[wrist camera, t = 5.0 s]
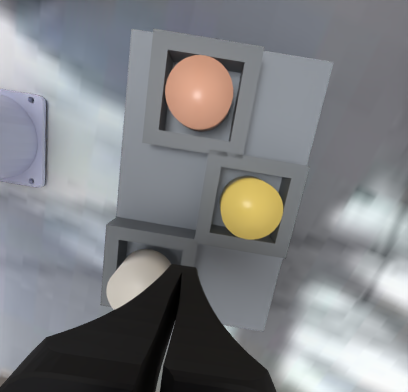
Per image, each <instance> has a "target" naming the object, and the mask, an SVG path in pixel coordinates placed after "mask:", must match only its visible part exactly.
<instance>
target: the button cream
mask: <svg viewBox="0 0 408 392" xmlns="http://www.w3.org/2000/svg"><path fill="white" fill-rule="evenodd" d="M170 265H171V263H170V261H169V260H168V259H167V258H166V257H165V256H164V255H163V254H161V253H160V252H158V251H155V250H151V249H140V250H137V251H134V252H133V253H131V254H130V255H129V256H128V257H127V258H126V259H125V260H124V261H123V263H122V264H121V265H120V266H119V268H118V269H117V270H116V271H115V273H114V274H113V275H112V276H111V278H110V279H109V281H108V284H107V289H106V293H107V298H108V301H109V303H110V305H111V307H112V308H113V309H114V310H115V309H117V308H119V307H121V306H122V305H124V304H126V303H127V302H129V301H130V300H132V299H133V298H135V297H136V296H137V295H139V294H140V293H141V292H143V291H144V290H145V289H146V288H147V287H149V286H150V285H151V284H152V283H153V282H154V281H155V280H156V279H158V278H159V277H160V276H161V275H162V274H163V273H164V272H165V271H166V269H167V268H168V267H169V266H170Z"/></svg>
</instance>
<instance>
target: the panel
mask: <svg viewBox="0 0 408 392" xmlns="http://www.w3.org/2000/svg"><path fill="white" fill-rule="evenodd" d="M194 55H205V56H209V57H212V58H214V59H216V60H217V61H219V62H220V63H221V64H222V65H223V66H224V67H225V68H226V70H227V71H228V73H229V75H230V77H231V80H232V84H233V99H232V103H231V106H230V108H229V111H228V113H227V115H226V117H225V119H224V120H223V122H222V123H221V124H220V125H218V126H217V127H216V128H214V129H212V130H209V131H205V132H198V131H193V130H191V129H189V128H187V127H185V126H184V125H183V124H182V123H180V122H179V121H178V120H177V119H176V118H175V117H174V116H173V114H172V113H171V111H170V109H169V107H168V105H167V102H166V96H165V87H166V82H167V79H168V76H169V74H170V72H171V71H172V69H173V68H174V67H175V66H176V65H177V64H178V63H179V62H180V61H182V60H183V59H185V58H187V57H190V56H194ZM333 63H334V62H330V61H324V60H317V59H311V58H305V57H299V56H293V55H287V54H281V53H275V52H269V51H264V47H263V46H257V45H250V44H244V43H238V42H232V41H226V40H220V39H214V38H208V37H202V36H196V35H190V34H184V33H178V32H172V31H165V30H159V29H153V32H148V31H141V30H135V29H132V30H131V42H130V54H129V66H128V79H127V91H126V103H125V115H124V127H123V140H122V152H121V164H120V176H119V189H118V201H117V213H116V218H115V219H114V220H112V221H111V222H109V223H108V224H107V225H106V236H105V250H104V264H103V278H102V291H101V305H103V306H109V307H111V305H110V303H109V301H108V298H107V293H106V289H107V284H108V281H109V279H110V278H111V276H112V275H113V274H114V273H115V271H116V270H117V269H118V268H119V266H120V265H121V264H122V263H123V261H124V260H125V259H126V258H127V257H128V256H129V255H130V254H131V253H133V252H134V251H137V250H140V249H151V250H155V251H158V252H160V253H161V254H163V255H164V256H165V257H166V258H167V259H168V260H169V261H170V263H171V264H177V265H183V266H190V267H196V268H197V270H198V276H199V279H200V283H201V285H202V288H203V290H204V293H205V295H206V297H207V299H208V301H209V303H210V305H211V307H212V309H213V311H214V312H215V314H216V315H217V317H218V319H219V320H220V321H221V323H222V324H223V325H227V326H233V327H239V328H245V329H250V330H256V331H262V332H264V328H265V325H266V321H267V317H268V313H269V309H270V305H271V301H272V298H273V294H274V290H275V286H276V282H277V278H278V275H279V271H280V267H281V263H282V259H283V258H285V259H286V255H287V252H288V248H289V244H290V240H291V236H292V233H293V229H294V225H295V221H296V217H297V214H298V210H299V206H300V202H301V198H302V195H303V191H304V187H305V183H306V179H307V176H308V172H309V168H310V166H307V163H308V159H309V155H310V151H311V148H312V144H313V140H314V136H315V132H316V128H317V125H318V121H319V117H320V113H321V109H322V105H323V101H324V98H325V94H326V90H327V86H328V82H329V78H330V75H331V71H332V67H333ZM240 176H254V177H257V178H259V179H261V180H263V181H264V182H266V183H268V184H269V185H271V186H272V187H273V188H274V189H275V190H276V191H277V192H278V193H279V195H280V197H281V199H282V203H283V215H282V218H281V221H280V223H279V225H278V226H277V227H276V229H275V230H274V231H273V232H271V233H270V234H269V235H267V236H265V237H263V238H259V239H254V240H248V239H243V238H240V237H237V236H235V235H234V234H232V233H231V232H230V231H229V230H228V229H227V228H226V226H225V224H224V222H223V220H222V216H221V209H220V196H221V193H222V191H223V189H224V187H225V186H226V185H227V184H228V183H229V182H230V181H231V180H233V179H235V178H237V177H240Z"/></svg>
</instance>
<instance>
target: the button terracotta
mask: <svg viewBox="0 0 408 392" xmlns="http://www.w3.org/2000/svg"><path fill="white" fill-rule="evenodd" d="M165 96H166V102H167V105H168V107H169V109H170V111H171V113H172V114H173V116H174V117H175V118H176V119H177V120H178V121H179V122H180V123H182V124H183V125H184V126H185V127H187V128H189V129H191V130H193V131H198V132H205V131H209V130H212V129H214V128H216V127H217V126H218V125H220V124H221V123H222V122H223V120H224V119H225V117H226V115H227V113H228V111H229V108H230V106H231V103H232V99H233V84H232V80H231V77H230V75H229V73H228V71H227V70H226V68H225V67H224V66H223V65H222V64H221V63H220V62H219V61H217V60H216V59H214V58H212V57H209V56H205V55H194V56H190V57H187V58H185V59H183V60H182V61H180V62H179V63H178V64H177V65H176V66H175V67H174V68H173V69H172V71H171V72H170V74H169V76H168V79H167V82H166V87H165Z"/></svg>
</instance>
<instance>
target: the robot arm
mask: <svg viewBox="0 0 408 392" xmlns="http://www.w3.org/2000/svg"><path fill="white" fill-rule="evenodd" d="M32 99H34V103H32ZM45 129H46V101H45V99H44V98H43V97H42V96H39V95H34V94H28V93H22V92H16V91H10V90H4V89H0V181H2V182H8V183H14V184H20V185H26V186H32V187H42V186H44V184H45ZM32 179H33V180H34V183H33V182H32ZM174 323H175V325H174ZM173 326H174V329H173ZM172 329H173V332H172ZM171 333H172V336H171ZM170 336H171V340H170V344H169V348H168V351H167V355H166V358H165V362H164V365H163V373H162V380H161V388H160V392H276V389H275V387H274V384H273V382H272V379H271V377H270V375H269V372H268V370H267V369H265V368H264V367H263V366H262V365H261V364H260V363H259V362H257V361H256V360H255V359H254V358H253V357H252V356H251V355H249V354H248V353H247V352H246V351H245V350H244V349H243V348H242V347H241V346H240V345H239V344H238V343H237V341H236V340H235V339H234V338H233V337H232V336H231V334H230V333H229V332H228V331H227V330H226V328H225V327H224V326H223V324H222V323H221V321H220V320H219V319H218V317H217V315H216V314H215V312H214V311H213V309H212V307H211V305H210V303H209V301H208V299H207V297H206V295H205V293H204V290H203V288H202V285H201V283H200V279H199V276H198V270H197V268H196V267H190V266H183V265H177V264H171V265H170V266H169V267H168V268H167V269H166V271H165V272H164V273H163V274H162V275H161V276H160V277H159V278H158V279H156V280H155V281H154V282H153V283H152V284H151V285H150V286H149V287H147V288H146V289H145V290H144V291H143V292H141V293H140V294H139V295H137V296H136V297H135V298H133V299H132V300H130V301H129V302H127V303H126V304H124V305H122V306H121V307H119V308H117V309H115V310H113V311H111V312H110V313H108V314H106V315H104V316H102V317H99V318H97V319H95V320H93V321H91V322H88V323H86V324H83V325H81V326H78V327H76V328H73V329H70V330H67V331H64V332H61V333H58V334H55V335H52V336H49V337H46V338H45V339H44V340H43V341H42V342H41V343H40V344H39V345H38V346H37V347H36V348H35V349H34V350H33V351H32V352H31V353H30V354H29V355H28V356H27V357H26V359H25V360H24V361H23V362H22V363H21V364H20V365H19V366H18V368H17V369H16V370H15V371H14V372H13V373H12V374H11V375H10V377H9V378H8V379H7V380H6V381H5V382H4V383H3V385H2V386H1V387H0V392H155V391H156V386H157V381H158V377H159V373H160V369H161V365H162V362H163V359H164V356H165V352H166V349H167V346H168V342H169V339H170Z"/></svg>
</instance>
